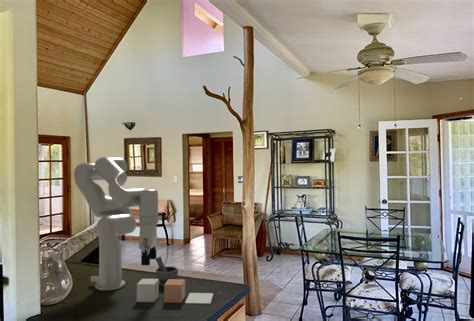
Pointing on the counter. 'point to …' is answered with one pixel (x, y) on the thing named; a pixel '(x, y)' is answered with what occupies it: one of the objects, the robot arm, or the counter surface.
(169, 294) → the orange-brown cube
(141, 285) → the white cube
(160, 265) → the mortar and pestle
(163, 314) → the counter surface
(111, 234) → the robot arm
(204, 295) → the sage pad
